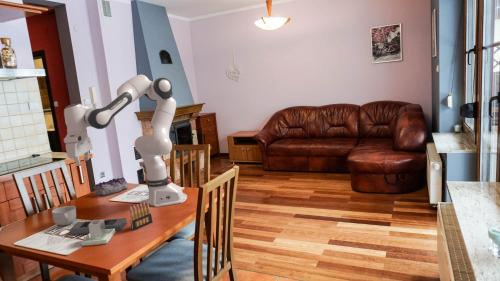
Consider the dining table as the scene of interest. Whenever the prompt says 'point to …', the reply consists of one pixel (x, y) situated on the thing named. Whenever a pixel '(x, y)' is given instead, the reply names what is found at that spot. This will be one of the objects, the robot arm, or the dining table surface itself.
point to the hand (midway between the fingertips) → (82, 162)
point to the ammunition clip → (140, 216)
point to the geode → (110, 186)
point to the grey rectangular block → (97, 230)
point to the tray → (88, 241)
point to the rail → (109, 224)
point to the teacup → (64, 215)
